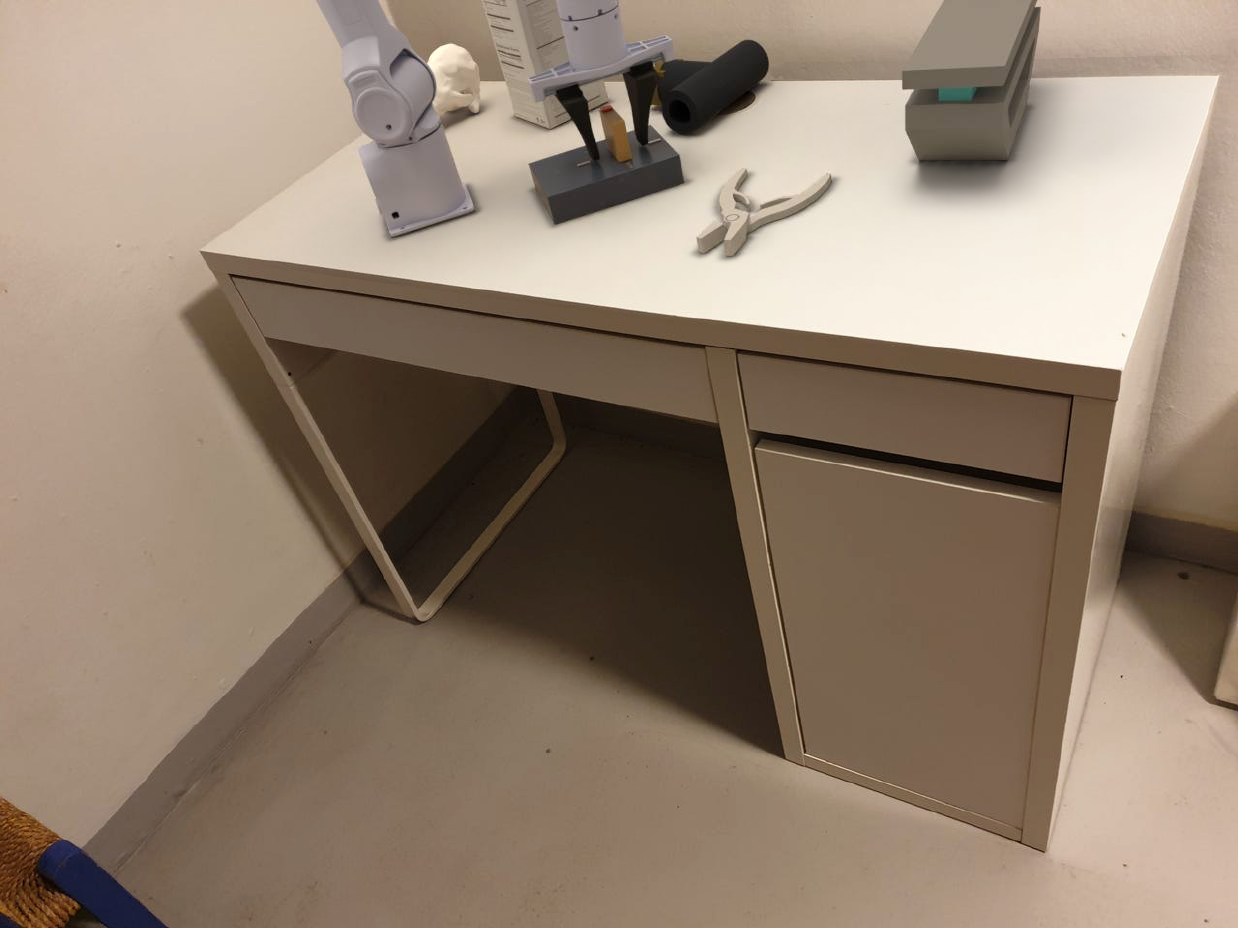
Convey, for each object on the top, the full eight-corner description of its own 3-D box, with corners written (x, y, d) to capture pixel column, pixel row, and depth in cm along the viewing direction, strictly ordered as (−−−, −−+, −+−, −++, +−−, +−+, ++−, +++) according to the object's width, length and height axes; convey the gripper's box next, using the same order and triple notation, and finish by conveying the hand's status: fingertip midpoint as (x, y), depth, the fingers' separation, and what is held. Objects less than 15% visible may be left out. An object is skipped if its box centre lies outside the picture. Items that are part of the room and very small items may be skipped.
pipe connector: (612, 83, 103) (686, 35, 111) (621, 129, 107) (691, 79, 114) (694, 90, 97) (767, 39, 105) (701, 138, 100) (770, 85, 108)
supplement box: (572, 90, 121) (539, -49, 110) (611, 101, 115) (580, -44, 104) (512, 117, 118) (472, -23, 107) (549, 130, 111) (510, -17, 101)
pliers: (833, 165, 85) (763, 244, 76) (834, 180, 86) (765, 260, 77) (739, 159, 90) (664, 233, 81) (741, 174, 91) (667, 249, 82)
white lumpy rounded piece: (472, 38, 118) (410, 83, 112) (496, 100, 123) (438, 146, 118) (440, 37, 121) (378, 81, 116) (464, 98, 127) (406, 142, 121)
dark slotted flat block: (554, 224, 91) (546, 195, 89) (535, 189, 99) (527, 162, 97) (684, 183, 92) (679, 153, 90) (655, 151, 100) (650, 123, 98)
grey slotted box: (955, 84, 97) (959, -27, 90) (1035, 81, 93) (1045, -34, 86) (902, 194, 81) (902, 71, 74) (995, 195, 78) (1004, 66, 71)
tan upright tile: (632, 159, 92) (623, 118, 89) (619, 163, 92) (610, 122, 89) (619, 143, 96) (610, 103, 93) (606, 147, 96) (598, 107, 93)
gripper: (649, -19, 88) (672, 117, 97) (508, 23, 87) (544, 157, 96) (671, -6, 83) (693, 138, 92) (521, 40, 82) (558, 181, 91)
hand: (618, 149), depth 94 cm, fingers open, 5 cm apart
